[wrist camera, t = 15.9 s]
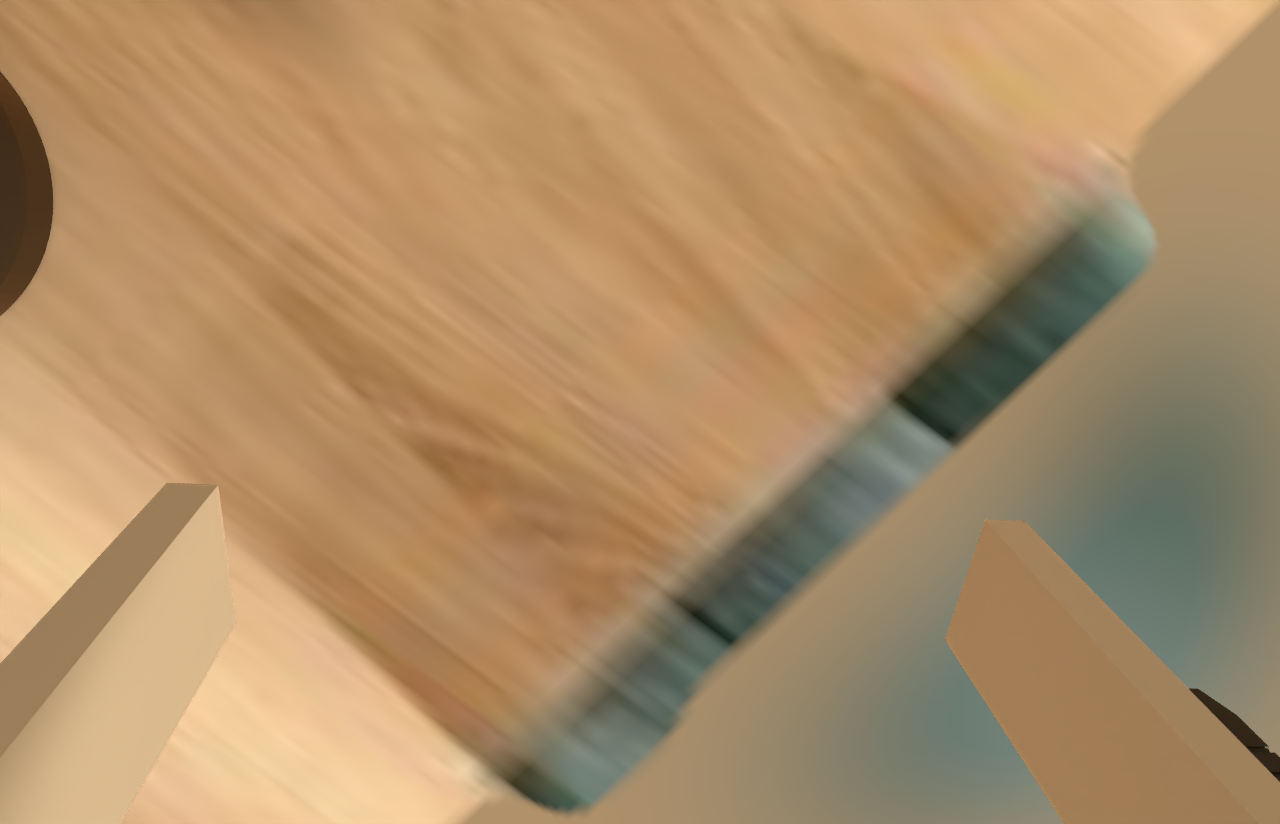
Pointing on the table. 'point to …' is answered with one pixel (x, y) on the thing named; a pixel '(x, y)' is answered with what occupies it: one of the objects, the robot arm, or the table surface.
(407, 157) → the table surface
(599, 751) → the table surface
